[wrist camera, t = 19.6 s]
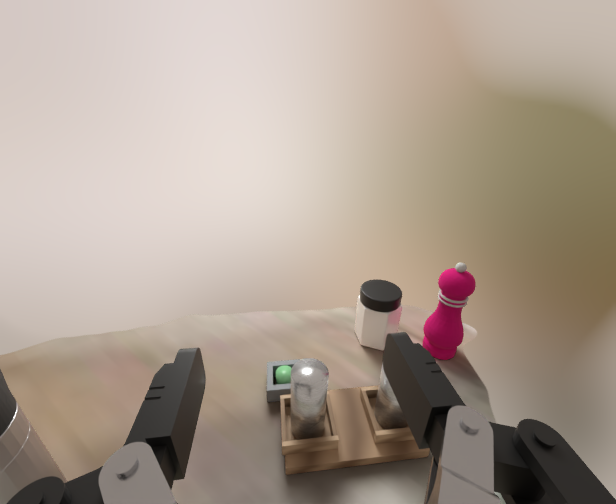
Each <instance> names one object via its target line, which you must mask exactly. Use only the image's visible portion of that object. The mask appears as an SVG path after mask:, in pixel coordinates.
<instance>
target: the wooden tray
mask: <svg viewBox="0 0 616 504" xmlns="http://www.w3.org/2000/svg"><path fill="white" fill-rule="evenodd" d="M378 386H379V385H378ZM378 386H368V387H358V388H347V389H337V390H327V400H326V411H325V423H324V431H323V434H322V435H321V437H319V438H310V439H302V440H298V439H296V438H295V437H294V435H293V434H292V431H291V394H284V395H280V403H281V432H282V455H285V468H286V475H289V474H297V473H305V472H313V471H320V470H328V469H336V468H344V467H352V466H360V465H368V464H375V463H383V462H391V461H399V460H407V459H415V458H423V457H428V455H429V452H430V450H429V448H426V449H419V448H418V446H417V443H416V441H415V439H414V437H413V435H412V432H411V430H410V428H409V426H408V423H407V426H406V427H405V428H398V429H389V430H386V429H384V428H383V427H382V426H380V425H379V423H378V422H377V420H376V418H375V415H374V410H375V404H376V398H377V392H378Z"/></svg>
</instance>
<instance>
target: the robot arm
mask: <svg viewBox="0 0 616 504" xmlns="http://www.w3.org/2000/svg"><path fill="white" fill-rule="evenodd" d="M383 369H384V372H385V375H386V377H387V379H388V381H389V384H390V386H391V388H392V390H393V392H394V395H395V397H396V399H397V401H398V404H399V406H400V408H401V410H402V412H403V415H404V417H405V419H406V421H407V423H408V426H409V428H410V430H411V432H412V435H413V437H414V439H415V441H416V443H417V446H418V448H419V449H426V448H430V451H431V453H432V455H433V458H432V462H431V468H430V473H429V479H428V485H427V491H426V497H425V503H424V504H500V499H499V497H498V496H497V495H495V493H494V492H498V493H501V495H502V497H503V499H504V500H505V502H506V504H616V500H615V498H613V496H612V495H611V494H610V493H609V491H608V490H607V489H606V488H605V487H604V485H602V483H601V482H600V481H599V480H598V479H597V477H596V476H595V475H594V474H593V473H592V471H591V470H590V469H589V468H588V467H587V466H586V464H585V463H584V462H583V461H582V460H581V459H580V457H579V456H578V455H577V454H576V453H575V451H574V450H573V449H572V448H571V447H570V446H569V444H568V443H567V442H566V441H565V440H564V439H563V437H562V436H561V435H560V434H559V433H558V432H556V431H555V430H554V429H553V428H551V427H550V426H548V425H546V424H544V423H542V422H539V421H537V420H532V419H524V420H522V421H521V422H519V424H518V426H517V428H515V427H510V426H505V425H500V424H496V423H491V422H488V421H487V419H486V418H485V417H484V416H483V415H482V414H480V413H479V412H477V411H476V410H474V409H472V408H470V407H467V406H466V405H465V404H464V403H463V401H462V400H461V398H460V397H459V395H458V394H457V392H456V391H455V389H454V388H453V386H452V385H451V383H450V382H449V380H448V379H447V377H446V376H445V374H444V373H443V372H442V370H441V369H440V367H439V366H438V364H436V361H435V360H434V358H433V357H432V355H431V354H430V352H429V351H428V350H426V349H425V348H424V347H423V346H421V345H420V344H419V343H417V344H413V342H412V341H411V339H410V338H409V336H408V335H407V333H405V332H400V333H388V334H387V337H386V342H385V348H384V354H383ZM204 390H205V371H204V366H203V360H202V355H201V351H200V348H188V349H180V350H179V351H178V353H177V356H176V358H175V361H174V363H170V364H164V365H163V367H162V368H161V369H160V370H159V371H158V372H157V373H156V374H155V376H154V378H153V380H152V383H151V385H150V387H149V390H148V392H147V394H146V396H145V401H143V403H142V406H141V408H140V410H139V413H138V415H137V417H136V419H135V422H134V424H133V426H132V429H131V431H130V433H129V436H128V438H127V440H126V442H125V444H124V446H123V447H122V448H120V449H119V450H117V451H116V452H115V453H114V454H112V455H111V456H110V458H109V459H108V460H107V461H106V462H105V464H104V466H102V467H100V468H99V469H97V470H94V471H92V472H90V473H88V474H85V475H83V476H80V477H78V478H76V479H73V480H71V481H69V482H68V481H67V480H66V478H65V477H64V475H63V473H62V472H61V470H60V469H59V467H58V465H57V464H56V462H55V461H54V459H53V458H52V456H51V454H50V453H49V451H48V450H47V448H46V447H45V445H44V444H43V442H42V440H41V439H40V437H39V436H38V434H37V433H36V431H35V429H34V428H33V426H32V425H31V423H30V422H29V420H28V419H27V417H26V416H25V414H24V413H23V411H22V409H21V408H20V406H19V405H18V403H17V402H16V400H15V398H14V397H13V395H12V394H11V392H10V390H9V388H8V386H7V383H6V381H5V379H4V376H3V374H2V372H1V370H0V504H178V503H177V502H176V500H175V498H174V496H173V494H172V492H171V489H172V485H173V481H174V480H179V479H184V477H185V473H186V468H187V464H188V460H189V455H190V451H191V447H192V442H193V438H194V434H195V429H196V425H197V421H198V416H199V412H200V408H201V403H202V399H203V394H204Z"/></svg>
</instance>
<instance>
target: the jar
mask: <svg viewBox="0 0 616 504" xmlns="http://www.w3.org/2000/svg"><path fill="white" fill-rule="evenodd" d="M401 298H402V291H401V290H400V288H399V287H398V286H396V285H395V284H393V283H391V282H388V281H384V280H369V281H367V282H365V283H363V284H362V286H361V290H360V295H359V296H358V301H357V310H356V319H355V329H354V331H355V333H356V335H357V338H358V340H359V342H360V344H361V345H363V346H367V347H370V348H374V349H378V350H381V351H383V350H384V348H385V342H386V337H387V334H388V333H397V332H398V326H399V321H400V316H401V311H402V305H401Z"/></svg>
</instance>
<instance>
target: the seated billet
mask: <svg viewBox="0 0 616 504" xmlns="http://www.w3.org/2000/svg"><path fill="white" fill-rule="evenodd" d="M374 415H375V418H376V420H377V422H378V423H379V425H380V426H382V427H383V428H384V429H386V430H389V429H398V428H405V427H406V426H407V421H406V419H405V417H404V415H403V412H402V410H401V408H400V406H399V404H398V401H397V399H396V397H395V395H394V392H393V390H392V388H391V386H390V384H389V381H388V379H387V377H386V375H385V372H384V369H383V363H382V369H381V375H380V381H379V386H378V392H377V398H376V404H375V410H374Z"/></svg>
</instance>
